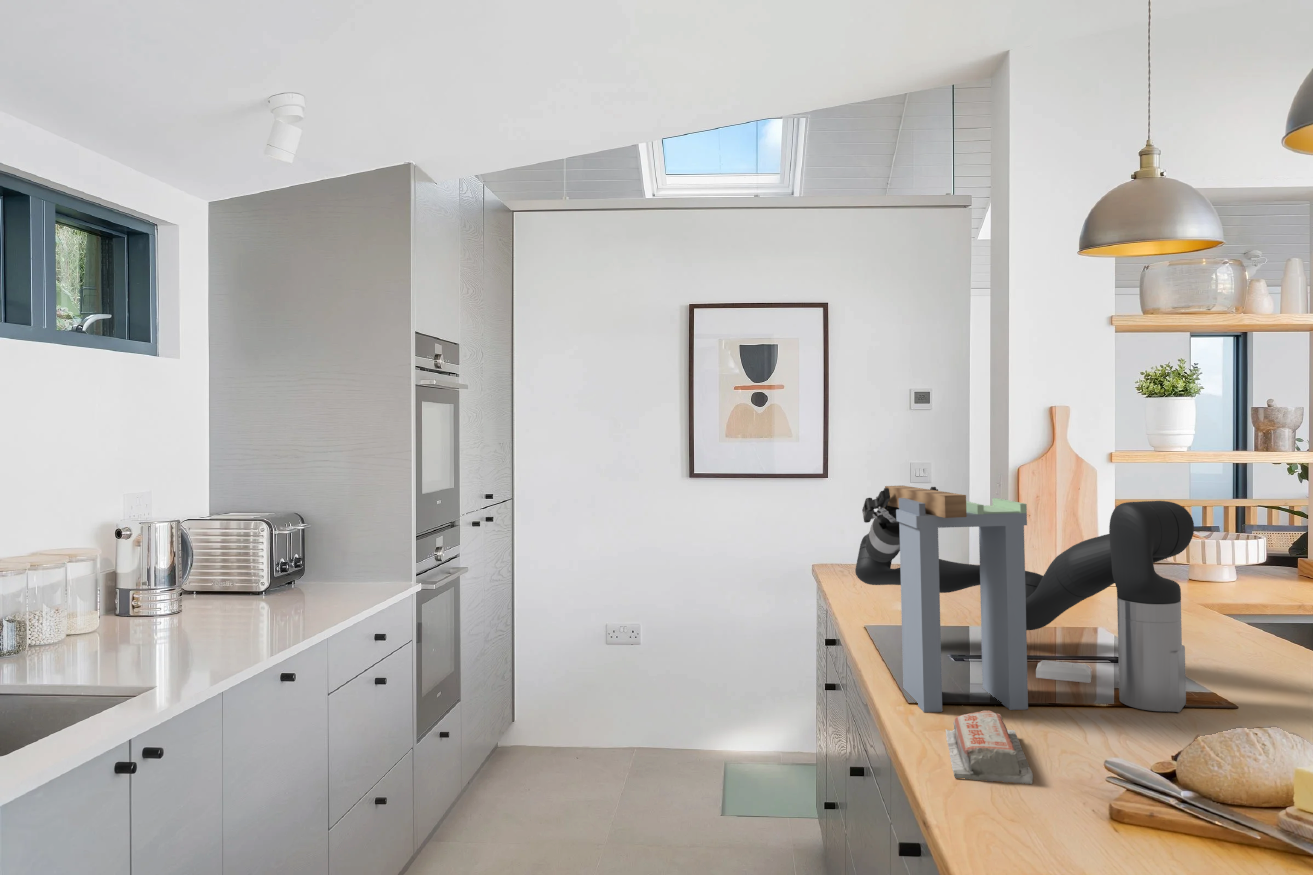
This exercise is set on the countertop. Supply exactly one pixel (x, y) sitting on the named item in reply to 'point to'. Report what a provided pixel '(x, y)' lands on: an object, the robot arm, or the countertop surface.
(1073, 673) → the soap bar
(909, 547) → the bridge
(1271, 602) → the countertop surface
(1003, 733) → the packaged product
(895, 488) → the wooden square beam
